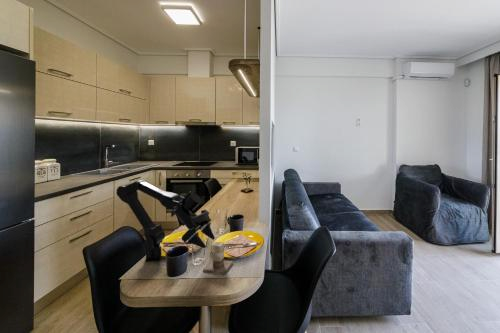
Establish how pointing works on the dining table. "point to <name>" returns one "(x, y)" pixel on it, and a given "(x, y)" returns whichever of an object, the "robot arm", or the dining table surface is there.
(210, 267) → the walnut stand
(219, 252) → the birch block
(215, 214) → the dining table surface
